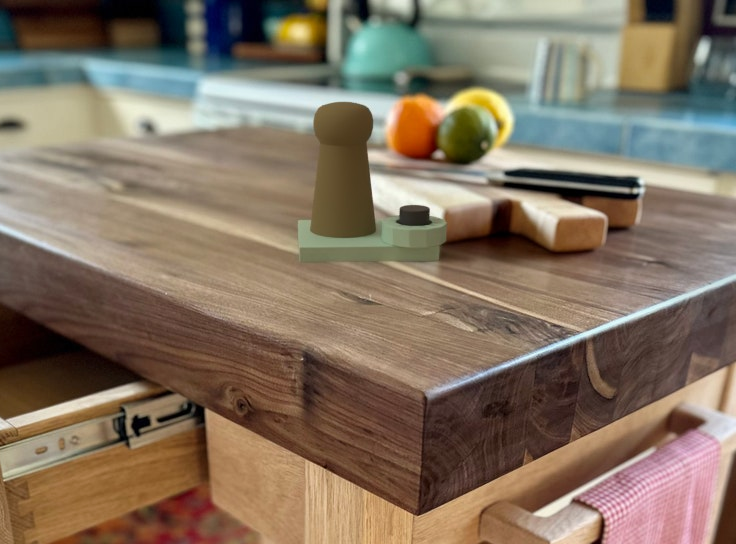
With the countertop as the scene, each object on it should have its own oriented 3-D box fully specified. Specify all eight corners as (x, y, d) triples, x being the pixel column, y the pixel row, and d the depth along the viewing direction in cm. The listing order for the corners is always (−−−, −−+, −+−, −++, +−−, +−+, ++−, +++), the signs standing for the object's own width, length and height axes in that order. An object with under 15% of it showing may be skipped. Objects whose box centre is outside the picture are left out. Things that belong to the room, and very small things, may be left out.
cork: (296, 228, 80) (293, 102, 75) (346, 218, 83) (347, 97, 79) (339, 241, 75) (339, 108, 71) (390, 230, 79) (393, 103, 74)
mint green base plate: (430, 232, 84) (431, 201, 83) (449, 263, 74) (451, 228, 73) (298, 234, 83) (297, 203, 82) (299, 265, 74) (299, 230, 72)
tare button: (426, 222, 77) (427, 204, 76) (431, 229, 74) (432, 211, 74) (397, 222, 77) (397, 204, 76) (400, 229, 74) (401, 211, 74)
